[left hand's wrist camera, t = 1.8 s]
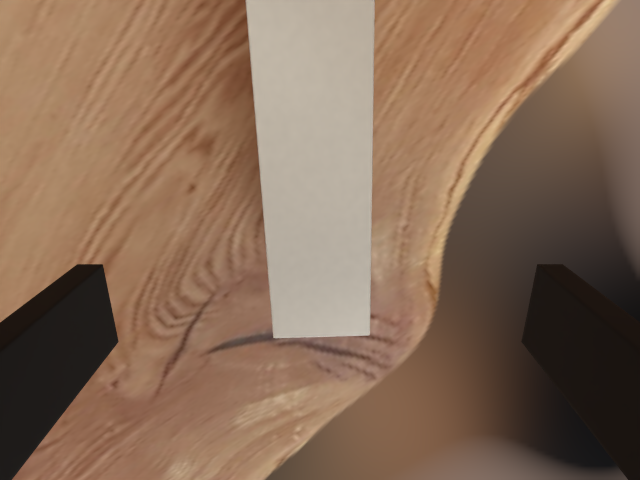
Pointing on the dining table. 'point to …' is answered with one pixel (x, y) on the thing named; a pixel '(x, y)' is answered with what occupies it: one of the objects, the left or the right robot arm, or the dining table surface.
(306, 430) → the dining table surface
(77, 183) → the dining table surface
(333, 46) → the bar
